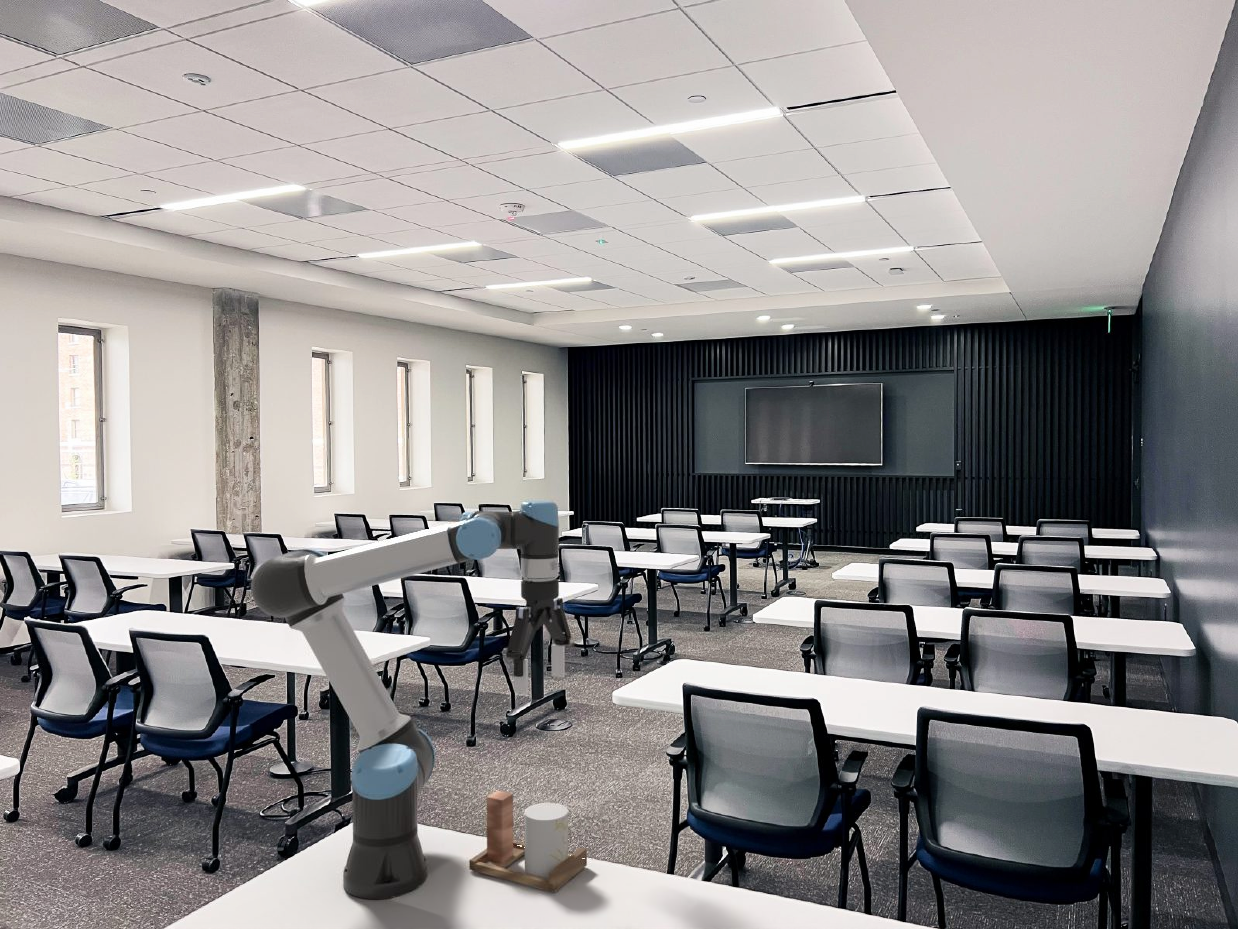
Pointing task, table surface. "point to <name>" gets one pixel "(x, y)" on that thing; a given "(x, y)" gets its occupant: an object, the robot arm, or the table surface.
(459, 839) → the table surface
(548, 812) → the cup
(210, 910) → the table surface
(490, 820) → the sled
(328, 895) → the table surface
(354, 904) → the table surface
